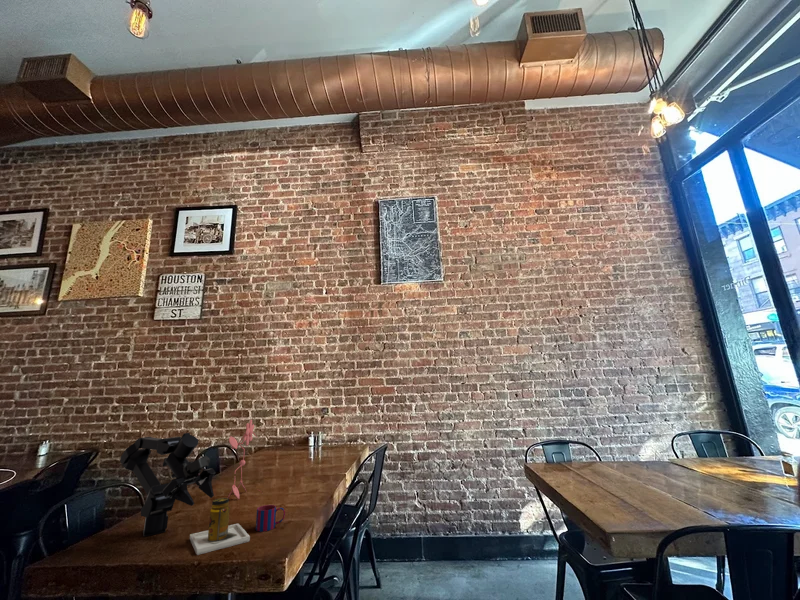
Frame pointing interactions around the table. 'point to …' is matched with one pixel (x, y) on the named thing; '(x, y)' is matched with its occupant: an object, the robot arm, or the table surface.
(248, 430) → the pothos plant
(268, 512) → the mug
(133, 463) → the robot arm
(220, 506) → the condiment
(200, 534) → the tray
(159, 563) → the table surface
